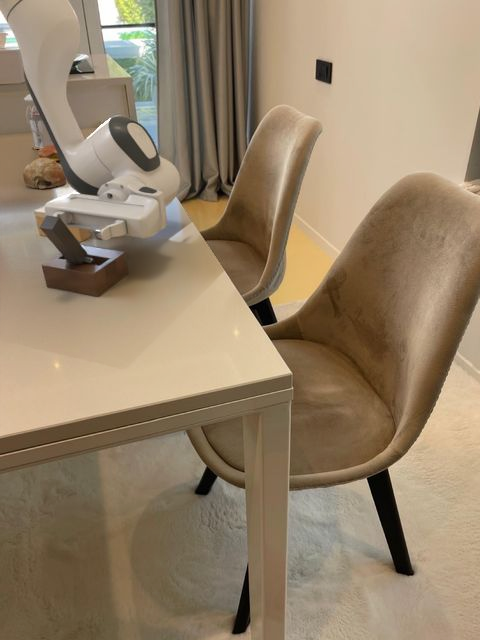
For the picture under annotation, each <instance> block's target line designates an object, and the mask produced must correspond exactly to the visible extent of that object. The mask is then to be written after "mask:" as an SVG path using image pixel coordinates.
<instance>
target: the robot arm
mask: <svg viewBox="0 0 480 640" xmlns="http://www.w3.org/2000/svg"><path fill="white" fill-rule="evenodd" d="M0 13H1V14H2V16H3V18H4V20H5V22H6V23H7V25H8V26H9V28H10V30H11V32H12V33H13V35H14V38H15V40H16V44H17V46H18V49H19V52H20V56H21V60H22V65H23V78H24V82H25V85H26V87H27V90H28V91H29V94H30V95H31V97H32V99H33V101H34V102H33V104H34V106H35V107H36V111H38V112H39V114H40V116H41V119H42V121H43V123H44V125H45V127H46V129H47V131H48V133H49V136H50V138H51V140H52V142H53V144H54V146H55V148H56V151H57V153H58V156H59V159H60V162H61V166H62V169H63V173H64V175H65V178H66V183H67V184H68V185H69V186H70V187H71V188H72V190H74V192H75V191H76V192H78V193H80V194H71V193H68V194H65V195H61V196H58V197H57V198H54V199H52V200H49V201H47V202H45V204H44V206H45V214H46V216H47V215H48V216H55V217H60V218H61V220H62V221H63V222H64V224H65V225H66V226H67V227H71V228H77V229H84V230H90V232H95V235H96V240H100V241H104V242H106V241H108V240H109V239H111V238H117V237H123V236H125V237H132V238H138V239H146V238H152V237H153V236H154V235H156V234H157V233H159V232H160V231H161V230H164V229H166V227H167V221H168V220H167V209H166V208H167V207H168V206H169V205H170V204H171V203H172V202H173V201H174V200H175V199H176V198H177V196H178V194H179V192H180V188H181V177H180V173H179V170H178V169H177V167H176V166H175V164H173V163H172V162H171V161H170V160H168V159H166V158H164V157H162V156H161V155H160V154H159V152H158V151H159V150H158V148H157V145H156V143H155V141H154V139H153V137H152V136H151V135H150V133H149V132H148V130H147V129H146V128H145V127H144V126H143V125H142V124H141V123H140V122H139V121H137V120H135V119H133V118H131V117H128V116H124V115H120V114H119V115H113V116H111V117H110V118H109V119H108V120H106V121H105V122H104V123H103V124H101V125H100V126H99V127H98V128H97V129H96V130H94V132H93V133H91V134H90V135H89V136H88V137H86V138H85V137H84V136H83V133H82V131H81V128H80V125H79V124H78V121H77V119H76V117H75V115H74V113H73V111H72V108H71V106H70V104H69V101H68V97H67V85H68V80H69V76H70V72H71V69H72V67H73V64H74V62H75V60H76V58H77V55H78V53H79V48H80V46H81V38H82V37H81V35H82V33H81V26H80V22H79V19H78V16H77V14H76V11H75V9H74V7H73V6H72V4H71V3H70V1H69V0H0Z"/></svg>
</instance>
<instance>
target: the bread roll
mask: <svg viewBox="0 0 480 640" xmlns="http://www.w3.org/2000/svg"><path fill="white" fill-rule="evenodd" d="M22 178H23V182H24V184H25V185H26V186H27V187H29V188H32V189H34V188H36V190H44V189H50V188H57V187H56V186H58V187H61V186H60V185H62V186H64V185H65V184H66V183H67V180H66V178H65V175H64V173H63V169H62V166H61V165H60V164H58V163H56V162H55V161H54V160H52V159H48V158H39V157H38V158H37V159H35V160H33V161H31V162H30V163H28V164H27V165H26V166H25V167H24V170H23V174H22ZM64 183H65V184H64ZM63 184H64V185H63ZM38 188H39V189H38Z"/></svg>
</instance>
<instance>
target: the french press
mask: <svg viewBox="0 0 480 640" xmlns="http://www.w3.org/2000/svg"><path fill="white" fill-rule="evenodd" d="M23 100H24V101H25V102H28V103H34V101H33V99H32V97H31V95H30V93H29V94H27V95H26V96H25V97H24V98H23ZM28 110H30V112H29V113H28ZM28 115H29V116H31V117H29V119H28ZM25 116H26V117H25V119H26V120H27V121H26V123H27V125H28V128H29V129H30V130H31V133H32V137H33V141H34V144H35V146H36V147H40V148H43V147H45V146H48V145H54V144H53V142H52V140H51V138H50V136H49V133H48V131H47V129H46V127H45V125H44V123H43V121H42V119H41V116H40V114H39V112H38V110H37V108H36V106H35V105H33V106H32V107H31V105H28V106H27V107H26V115H25ZM36 124H37V125H36ZM39 137H40V138H39Z"/></svg>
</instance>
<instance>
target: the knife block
mask: <svg viewBox="0 0 480 640" xmlns="http://www.w3.org/2000/svg"><path fill="white" fill-rule="evenodd" d="M81 246H82V247H83V248H84V250H85V251H86V252H87V255H86V258H92V259H93V260H94V261H95V263H96V264H97V265H92V264H87V263H82V265H78V264H72V263H69V262H68V261H67V260H66V259H65V257H64V256H63V255H62V254H61V253H59V254H57V255H56V256H54V257H52V258H50V259H48V260H47V261H45V262H44V263H42V264H41V268H42V272H43V277H44V281H45V285H46V287H47V288H50V289H55V290H60V291H66V292H71V293H77V294H81V295H87V296H92V297H96V298H98V297H100V296H101V295H102V294H103V293H106V291H108V290H109V289H110V288H111V287H113V286H114V285H116V283H118V282H119V281H121V280H122V279H123V278H125V277H126V276H127V275H129V270H128V263H127V255H126V252H125V251H119V250H114V249H106V248H102V247H101V248H100V247H94V246H88V245H82V244H81Z"/></svg>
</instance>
